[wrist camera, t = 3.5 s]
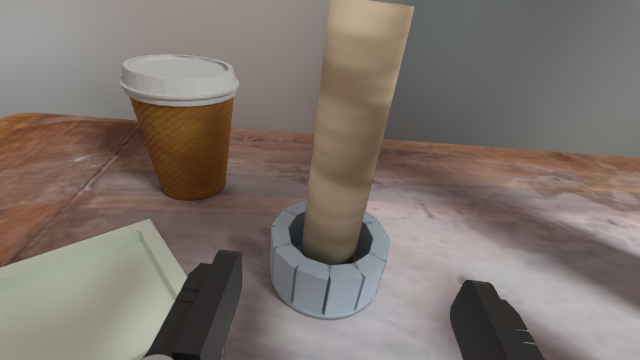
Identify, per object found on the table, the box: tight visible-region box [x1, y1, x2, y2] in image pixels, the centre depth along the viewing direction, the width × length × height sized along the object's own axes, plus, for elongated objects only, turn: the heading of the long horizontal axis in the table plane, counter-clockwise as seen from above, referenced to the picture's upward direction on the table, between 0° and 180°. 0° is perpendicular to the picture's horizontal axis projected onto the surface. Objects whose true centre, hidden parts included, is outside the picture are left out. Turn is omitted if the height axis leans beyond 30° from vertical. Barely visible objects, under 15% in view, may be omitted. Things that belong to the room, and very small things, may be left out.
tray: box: [0, 219, 224, 360], centre depth 18 cm, size 12×12×2 cm
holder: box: [270, 200, 390, 320], centre depth 23 cm, size 8×8×4 cm
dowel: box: [301, 0, 414, 265], centre depth 19 cm, size 4×4×18 cm
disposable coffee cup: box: [119, 54, 239, 200], centre depth 29 cm, size 10×10×12 cm
